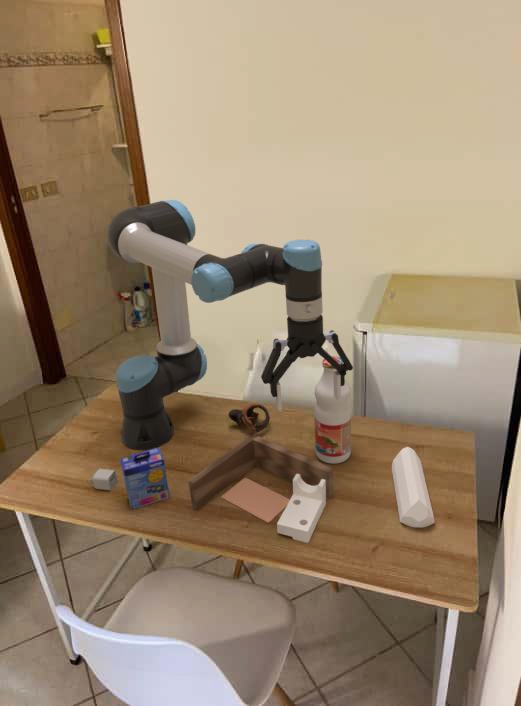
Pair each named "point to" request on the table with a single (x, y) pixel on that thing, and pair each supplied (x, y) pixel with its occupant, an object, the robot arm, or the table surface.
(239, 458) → the corner walls
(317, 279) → the robot arm
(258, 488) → the pad
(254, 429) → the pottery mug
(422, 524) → the crystal
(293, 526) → the bracket
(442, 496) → the table surface
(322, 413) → the fruit juice
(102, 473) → the usb wall charger
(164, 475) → the ink cartridge box
